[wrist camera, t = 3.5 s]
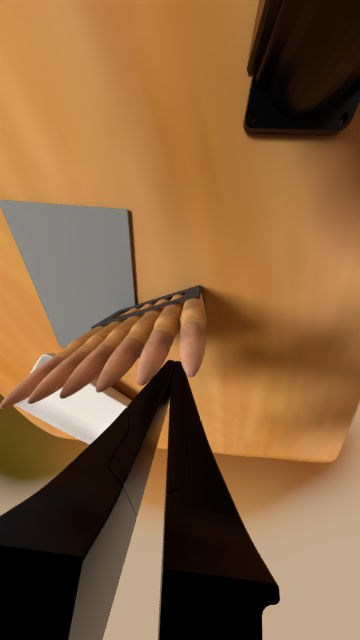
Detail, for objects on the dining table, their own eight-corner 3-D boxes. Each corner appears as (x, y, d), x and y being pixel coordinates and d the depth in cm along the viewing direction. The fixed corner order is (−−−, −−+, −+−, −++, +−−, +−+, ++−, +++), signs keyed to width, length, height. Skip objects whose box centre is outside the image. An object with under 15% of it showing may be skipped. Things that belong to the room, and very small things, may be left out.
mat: (128, 210, 12) (127, 209, 12) (140, 357, 21) (139, 358, 20) (1, 200, 13) (-3, 199, 13) (61, 345, 22) (60, 346, 21)
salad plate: (61, 338, 21) (39, 353, 18) (158, 406, 27) (153, 425, 24) (27, 388, 30) (8, 404, 27) (106, 432, 35) (98, 449, 32)
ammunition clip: (200, 284, 15) (215, 343, 4) (204, 300, 15) (228, 393, 4) (117, 310, 17) (-30, 396, 6) (124, 323, 17) (1, 423, 6)
